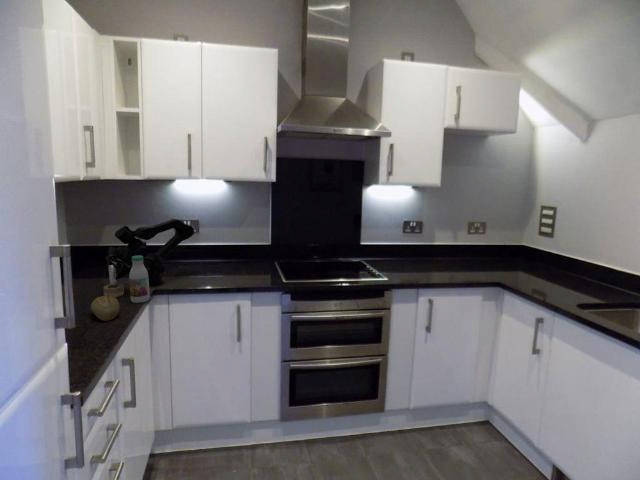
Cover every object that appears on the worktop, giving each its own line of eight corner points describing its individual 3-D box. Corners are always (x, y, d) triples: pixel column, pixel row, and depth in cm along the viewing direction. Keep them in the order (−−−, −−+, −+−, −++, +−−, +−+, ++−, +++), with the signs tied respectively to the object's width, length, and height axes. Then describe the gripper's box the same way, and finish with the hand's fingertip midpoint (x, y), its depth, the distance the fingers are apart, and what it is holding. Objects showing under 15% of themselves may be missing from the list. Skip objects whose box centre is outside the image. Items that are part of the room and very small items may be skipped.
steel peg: (114, 293, 187) (112, 264, 185) (119, 294, 186) (116, 264, 184) (109, 295, 185) (107, 265, 182) (113, 296, 184) (111, 266, 181)
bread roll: (113, 308, 169) (112, 289, 167) (124, 318, 158) (123, 298, 157) (87, 313, 163) (85, 294, 161) (97, 324, 152) (95, 304, 150)
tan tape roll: (115, 291, 191) (114, 282, 190) (127, 293, 188) (127, 285, 187) (100, 296, 183) (99, 287, 183) (113, 298, 180) (112, 289, 180)
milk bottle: (134, 297, 182) (131, 254, 178) (152, 297, 183) (149, 254, 179) (128, 303, 174) (124, 258, 171) (146, 303, 175) (143, 258, 171)
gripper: (108, 237, 190) (85, 264, 183) (130, 242, 179) (107, 271, 172) (125, 251, 197) (104, 277, 190) (147, 256, 187) (126, 284, 180)
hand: (110, 277), depth 183 cm, fingers open, 9 cm apart
